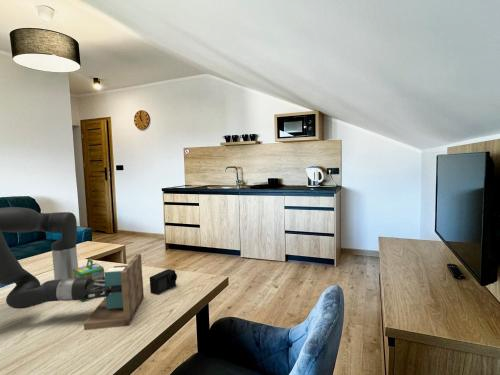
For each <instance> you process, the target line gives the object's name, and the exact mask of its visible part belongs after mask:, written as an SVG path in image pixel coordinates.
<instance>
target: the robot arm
mask: <svg viewBox="0 0 500 375" xmlns="http://www.w3.org/2000/svg"><path fill="white" fill-rule="evenodd" d="M77 225H78V222H77V217H76V215H75V214H74V213H73V212H70V211H67V212H66V211H64V212H59V211H57V212H48V213H47V212H45V213H44V212H43V213H42V212H38V211H37V210H35V209H32V208H27V207H19V206H18V207H17V206H7V207H0V284H1V286H6V285H7V286H8V285H11V284H13V283H15V286H14V287H13V288H12V290H11V291H9V293H7V295H6V298H5V302H6V305H7V306H9V308H13V309H17V310H21V309H29V308H31V307H34V306H39V305H43V304H45V303H47V302H71V301H72V302H73V301H81V300H86V301H88V300H87V299H89V300H94V299H99V298H105V297H107V296H109V294H112V293H116V292H122V285H118V286H113V287H112V286H106V285H105V276H104V277H103V280H97V281H93V280H92V278H91V277H82V278H73V269H75V268H79V262H78V254H77V253H78V251H77V240H78V230H77V229H78V228H77V227H78V226H77ZM32 232H42V233H50V234H61V237H60V239H58V240H55V241H54V242H52V243H51V246H50V247H51V254H52V255H51V256H52V257H51V258H52V265H53V266H52V268H53V280H47V281H45V282H43V283H42V284H41V283H40V281H39V279H38V277H36V276H35V275H33V274H31V273H30V272H29V271H28V270H26V269H24V267H23V266H22V265H21V264H20V262H19V261H18V260H19V259H17V258H16V257H15V255H14V254H13V252H12V250H11V249H10V247H9V245H8V243H7V240H6V239H5V236H4V234H3V233H20V234H21V233H22V234H24V233H32Z"/></svg>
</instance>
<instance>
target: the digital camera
mask: <svg viewBox="0 0 500 375" xmlns="http://www.w3.org/2000/svg"><path fill="white" fill-rule="evenodd" d="M177 280H178V273H176V270H175V269H171V268H168V269H165V270H162V271H160V272H158V273H156V274H154V275H151V276H149V289H150V290H149V291H150V294H153V295H157V296H159V295H160V294H162V293H164V292H167V291H168V290H170V289H172V288H174V287H176V286H177Z"/></svg>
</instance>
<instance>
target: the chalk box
mask: <svg viewBox="0 0 500 375" xmlns="http://www.w3.org/2000/svg"><path fill="white" fill-rule="evenodd" d="M93 262H94V260H93V259H90V258H87V263H86V265H83V266H78V268H75V269H73V278H82V277H91V278H92V280H93V281H97V280H103V277H105V268H104V266H102V265H101V264H98V263H93ZM88 300H90V299H87V300H80V301H81V302H82V303H84V302H85V301H88Z"/></svg>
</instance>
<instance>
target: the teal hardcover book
mask: <svg viewBox="0 0 500 375" xmlns="http://www.w3.org/2000/svg"><path fill="white" fill-rule="evenodd" d="M124 268H125V267H116V268H113V267H108V269H106V271H104V277H105V285H106V286H112V287H113V286H118V285H122V284H121V272H122V271H123V269H124ZM106 305H107V309H113V308H123V298H122V292H116V293H112V294H109V296H107V297H106Z"/></svg>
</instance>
